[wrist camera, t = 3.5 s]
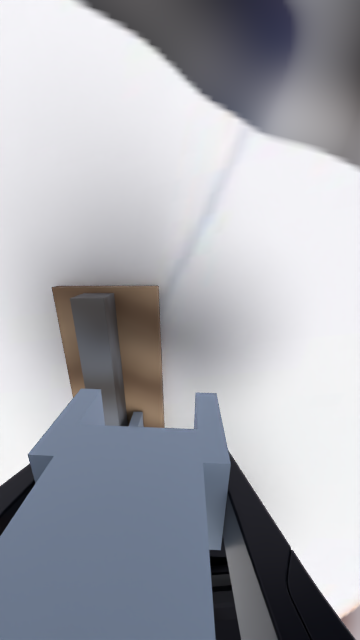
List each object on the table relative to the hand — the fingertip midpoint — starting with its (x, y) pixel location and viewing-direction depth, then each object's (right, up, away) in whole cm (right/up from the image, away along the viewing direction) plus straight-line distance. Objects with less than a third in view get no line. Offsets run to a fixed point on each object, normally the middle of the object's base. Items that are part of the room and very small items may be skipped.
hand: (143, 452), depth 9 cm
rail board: (-5, 0, +12) cm, 13 cm away
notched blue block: (0, 0, +1) cm, 1 cm away
